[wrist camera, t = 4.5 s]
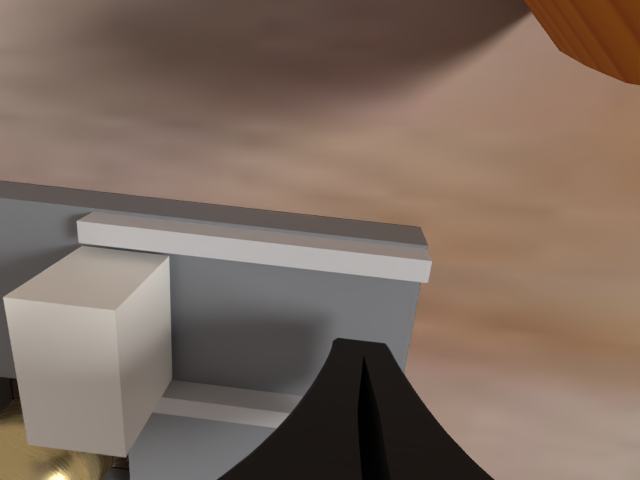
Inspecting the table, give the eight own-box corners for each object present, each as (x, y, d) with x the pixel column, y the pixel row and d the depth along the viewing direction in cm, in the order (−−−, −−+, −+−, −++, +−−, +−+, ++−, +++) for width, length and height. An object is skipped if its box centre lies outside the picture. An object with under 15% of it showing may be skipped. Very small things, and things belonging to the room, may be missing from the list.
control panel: (346, 635, 20) (346, 702, 18) (-7, 584, 21) (-49, 644, 19) (420, 227, 13) (433, 257, 11) (-106, 169, 14) (-189, 187, 12)
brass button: (121, 488, 16) (82, 557, 14) (12, 473, 17) (-44, 540, 14) (114, 396, 15) (69, 457, 13) (-5, 381, 15) (-71, 439, 13)
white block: (172, 378, 14) (125, 457, 11) (93, 368, 14) (28, 444, 11) (169, 255, 12) (115, 310, 10) (82, 245, 12) (3, 297, 10)
